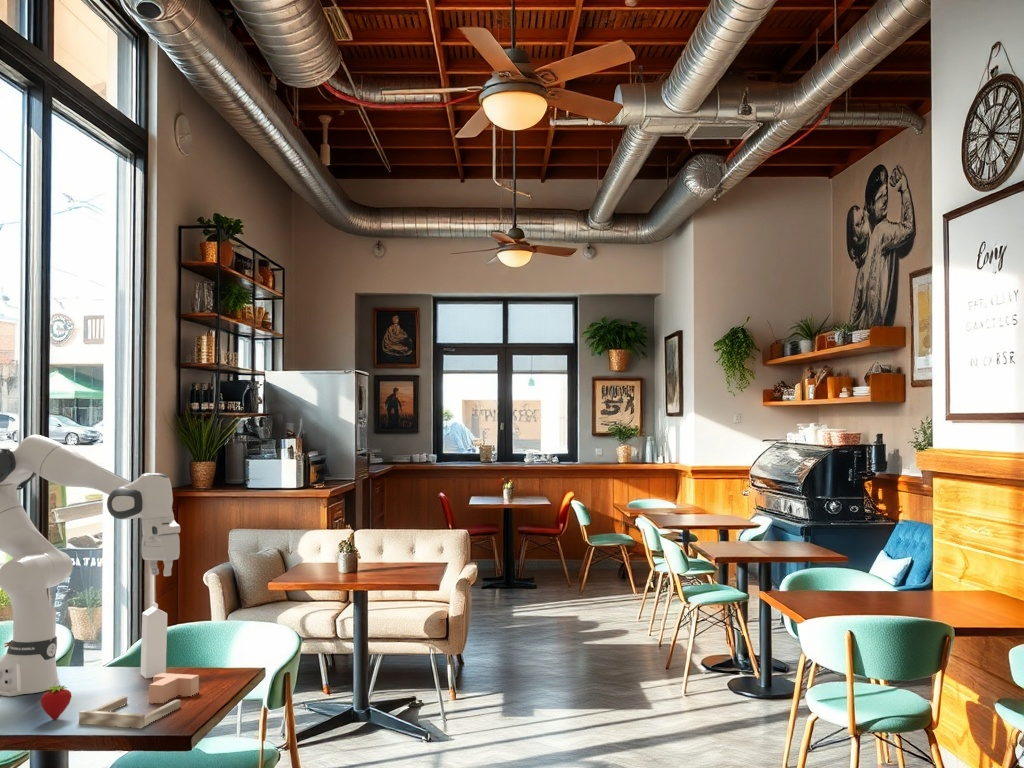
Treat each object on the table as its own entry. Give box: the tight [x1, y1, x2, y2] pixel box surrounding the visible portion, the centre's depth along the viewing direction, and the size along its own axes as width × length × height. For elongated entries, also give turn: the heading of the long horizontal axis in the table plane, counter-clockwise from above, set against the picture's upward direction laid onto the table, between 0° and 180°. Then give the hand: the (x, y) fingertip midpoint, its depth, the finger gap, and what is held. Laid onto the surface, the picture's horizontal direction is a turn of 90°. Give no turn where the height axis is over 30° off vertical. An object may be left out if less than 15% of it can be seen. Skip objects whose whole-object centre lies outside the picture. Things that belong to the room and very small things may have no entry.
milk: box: [140, 601, 168, 679], centre depth 276 cm, size 6×6×22 cm
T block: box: [148, 672, 200, 704], centre depth 251 cm, size 12×12×5 cm
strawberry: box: [40, 683, 72, 721], centre depth 231 cm, size 6×8×10 cm
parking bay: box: [78, 695, 181, 729], centre depth 235 cm, size 18×18×3 cm
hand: (161, 575), depth 260 cm, fingers open, 8 cm apart
